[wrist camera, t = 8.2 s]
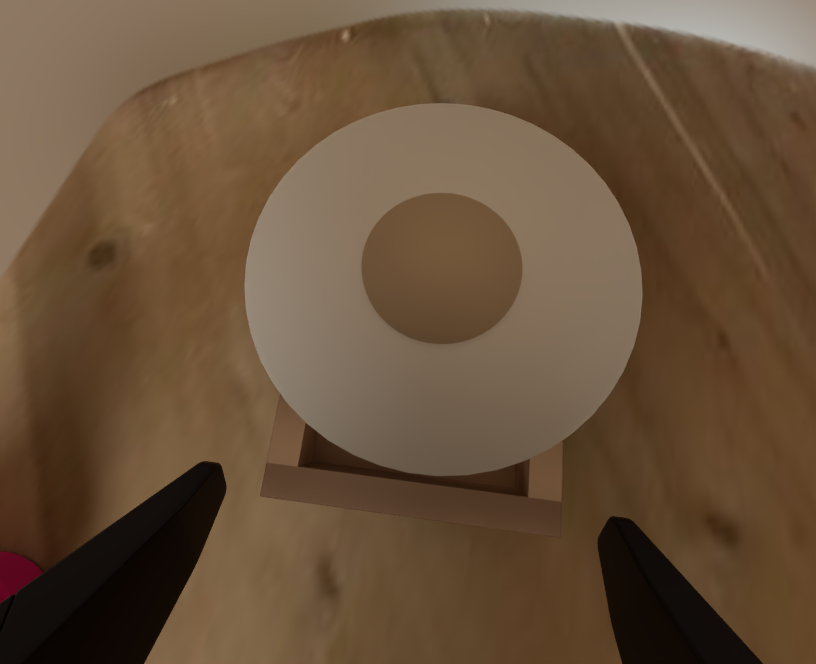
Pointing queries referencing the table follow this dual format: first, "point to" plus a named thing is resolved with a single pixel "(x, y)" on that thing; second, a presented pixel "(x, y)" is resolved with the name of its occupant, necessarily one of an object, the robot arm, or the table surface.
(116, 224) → the table surface
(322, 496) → the tray
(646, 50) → the table surface
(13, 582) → the pepper mill
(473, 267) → the paper roll
